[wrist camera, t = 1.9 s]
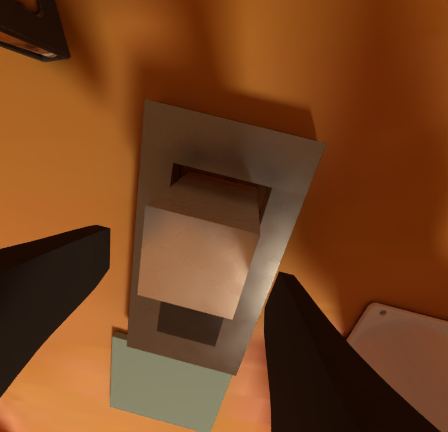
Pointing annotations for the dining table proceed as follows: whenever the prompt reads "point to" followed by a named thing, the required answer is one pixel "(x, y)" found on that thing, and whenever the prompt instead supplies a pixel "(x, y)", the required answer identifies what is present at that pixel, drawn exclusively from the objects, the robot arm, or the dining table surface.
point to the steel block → (199, 244)
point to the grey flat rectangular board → (269, 222)
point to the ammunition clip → (33, 29)
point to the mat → (165, 387)
